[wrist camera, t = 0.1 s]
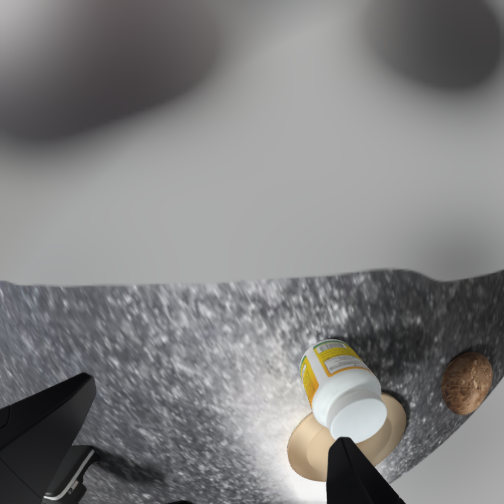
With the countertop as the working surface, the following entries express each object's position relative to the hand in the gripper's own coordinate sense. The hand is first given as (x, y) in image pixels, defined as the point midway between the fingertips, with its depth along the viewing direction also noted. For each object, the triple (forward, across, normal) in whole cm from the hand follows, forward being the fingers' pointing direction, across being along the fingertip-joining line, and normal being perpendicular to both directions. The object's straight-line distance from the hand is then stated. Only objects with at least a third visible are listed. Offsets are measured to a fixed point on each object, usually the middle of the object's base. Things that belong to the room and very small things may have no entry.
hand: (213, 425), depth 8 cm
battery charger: (+8, +16, +31) cm, 36 cm away
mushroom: (+14, -28, +7) cm, 32 cm away
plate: (+12, -16, +16) cm, 25 cm away
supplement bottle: (+14, -9, +7) cm, 18 cm away
